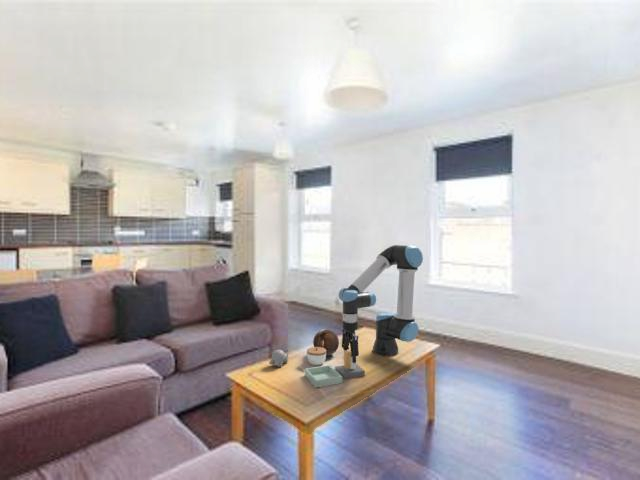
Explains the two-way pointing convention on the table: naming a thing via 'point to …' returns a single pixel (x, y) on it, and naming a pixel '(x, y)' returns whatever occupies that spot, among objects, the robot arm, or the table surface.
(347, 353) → the fuse
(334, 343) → the wooden sphere
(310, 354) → the lidded jar
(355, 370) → the socket block
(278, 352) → the toy rhinoceros
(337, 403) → the table surface
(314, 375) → the parts tray
